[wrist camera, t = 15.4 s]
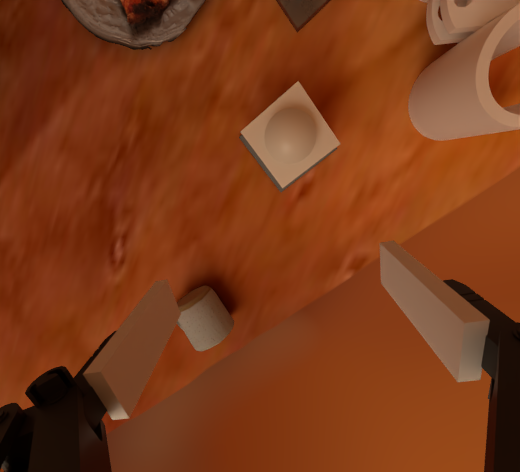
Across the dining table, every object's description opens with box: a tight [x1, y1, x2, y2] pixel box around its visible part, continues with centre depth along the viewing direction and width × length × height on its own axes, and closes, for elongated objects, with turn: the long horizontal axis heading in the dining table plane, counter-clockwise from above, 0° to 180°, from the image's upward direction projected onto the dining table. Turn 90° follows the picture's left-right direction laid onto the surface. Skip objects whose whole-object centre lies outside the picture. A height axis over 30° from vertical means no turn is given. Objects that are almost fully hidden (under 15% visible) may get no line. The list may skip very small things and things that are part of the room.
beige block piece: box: [241, 81, 340, 188], centre depth 31 cm, size 8×8×9 cm
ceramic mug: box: [177, 286, 234, 351], centre depth 41 cm, size 11×8×8 cm
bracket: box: [408, 0, 520, 140], centre depth 25 cm, size 25×10×12 cm, turn 15°
